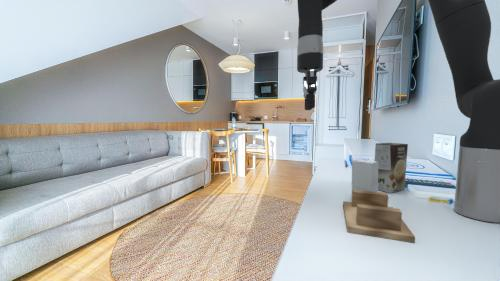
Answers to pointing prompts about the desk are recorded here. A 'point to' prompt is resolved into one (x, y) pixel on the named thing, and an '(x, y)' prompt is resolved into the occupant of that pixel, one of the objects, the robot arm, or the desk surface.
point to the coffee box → (391, 166)
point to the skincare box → (365, 175)
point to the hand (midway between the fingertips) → (309, 109)
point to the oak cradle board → (374, 231)
